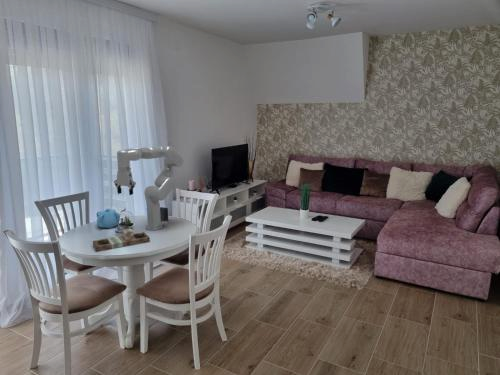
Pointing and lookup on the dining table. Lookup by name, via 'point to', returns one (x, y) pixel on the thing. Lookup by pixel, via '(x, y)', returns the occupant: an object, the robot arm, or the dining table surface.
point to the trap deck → (120, 242)
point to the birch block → (128, 234)
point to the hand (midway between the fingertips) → (125, 194)
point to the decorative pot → (107, 218)
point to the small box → (164, 214)
